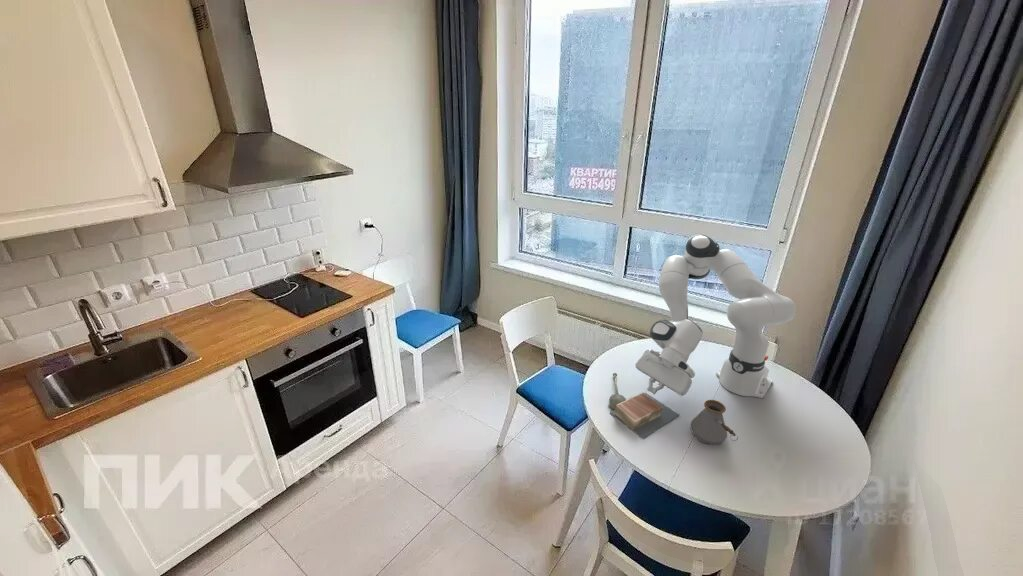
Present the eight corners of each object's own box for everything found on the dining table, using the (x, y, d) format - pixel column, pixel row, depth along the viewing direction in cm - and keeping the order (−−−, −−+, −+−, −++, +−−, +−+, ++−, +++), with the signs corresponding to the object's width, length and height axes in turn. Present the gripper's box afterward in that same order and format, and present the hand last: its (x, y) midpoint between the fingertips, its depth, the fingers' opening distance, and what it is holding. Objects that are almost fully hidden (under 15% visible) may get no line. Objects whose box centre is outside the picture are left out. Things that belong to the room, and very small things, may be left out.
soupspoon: (608, 411, 150) (627, 414, 149) (609, 404, 149) (628, 406, 148) (606, 375, 170) (623, 377, 169) (608, 368, 168) (624, 370, 167)
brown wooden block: (643, 392, 152) (616, 404, 145) (662, 407, 145) (635, 421, 139) (641, 400, 154) (614, 413, 147) (660, 415, 147) (632, 430, 141)
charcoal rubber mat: (645, 393, 159) (645, 392, 159) (679, 415, 148) (679, 414, 148) (609, 413, 149) (610, 412, 149) (643, 438, 138) (643, 437, 137)
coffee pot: (684, 422, 145) (693, 388, 139) (718, 425, 144) (728, 391, 138) (704, 471, 126) (715, 434, 120) (743, 475, 125) (756, 437, 119)
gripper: (645, 344, 154) (624, 374, 152) (694, 370, 139) (672, 404, 137) (650, 350, 158) (630, 380, 157) (699, 376, 143) (678, 409, 142)
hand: (650, 391), depth 147 cm, fingers closed
